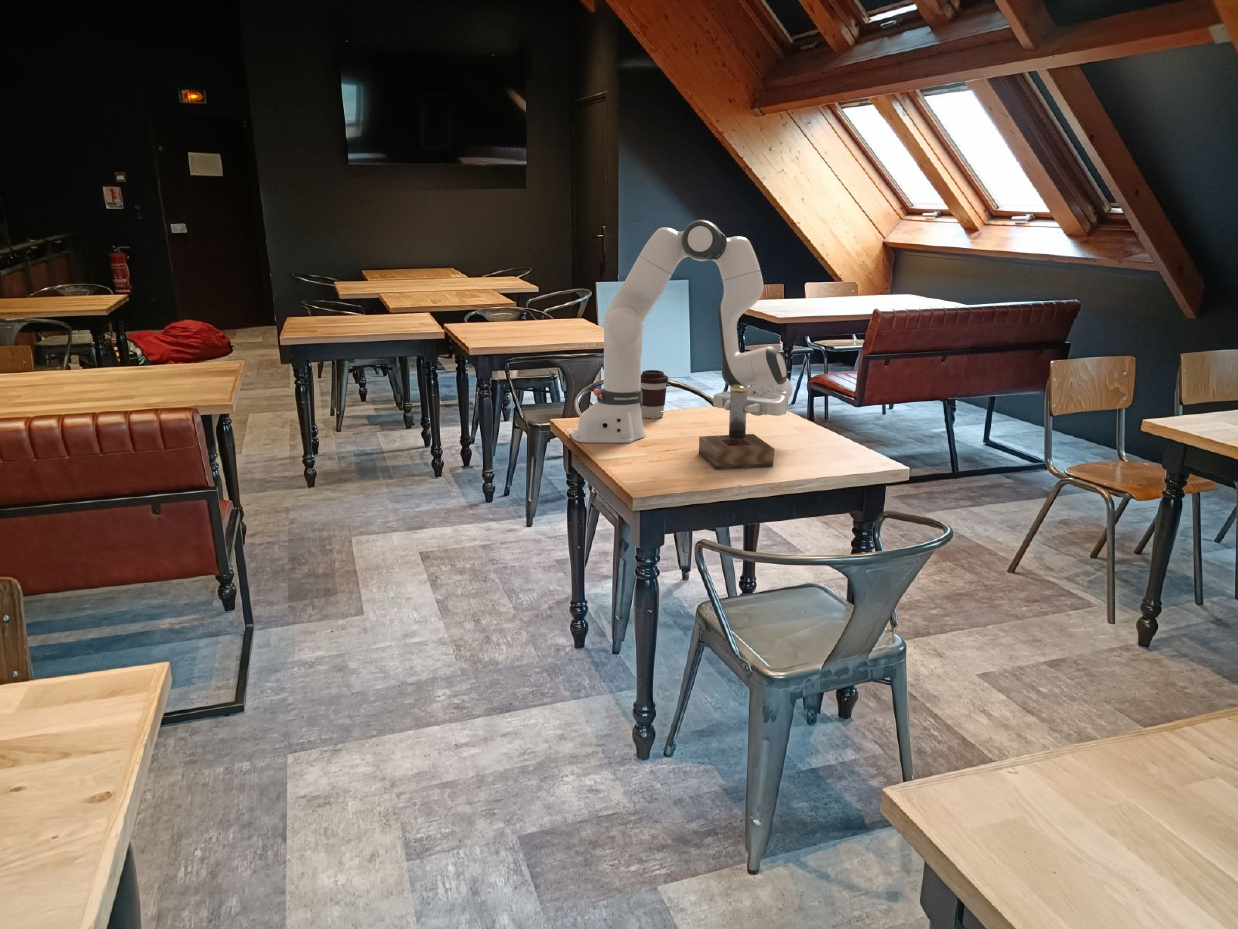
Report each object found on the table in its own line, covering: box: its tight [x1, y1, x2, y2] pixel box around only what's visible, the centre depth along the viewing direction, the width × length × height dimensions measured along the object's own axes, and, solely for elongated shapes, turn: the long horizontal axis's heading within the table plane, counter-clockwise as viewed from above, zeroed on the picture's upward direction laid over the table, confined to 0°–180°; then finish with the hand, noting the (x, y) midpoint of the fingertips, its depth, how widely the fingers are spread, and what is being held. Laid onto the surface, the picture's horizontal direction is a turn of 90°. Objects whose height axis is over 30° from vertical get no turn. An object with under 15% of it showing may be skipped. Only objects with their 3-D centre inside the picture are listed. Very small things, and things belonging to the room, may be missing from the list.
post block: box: [698, 433, 775, 471], centre depth 244 cm, size 16×16×5 cm
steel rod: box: [728, 385, 749, 439], centre depth 241 cm, size 5×5×14 cm
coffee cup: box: [641, 369, 669, 419], centre depth 291 cm, size 10×10×15 cm
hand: (736, 408), depth 239 cm, fingers closed on steel rod, 4 cm apart
